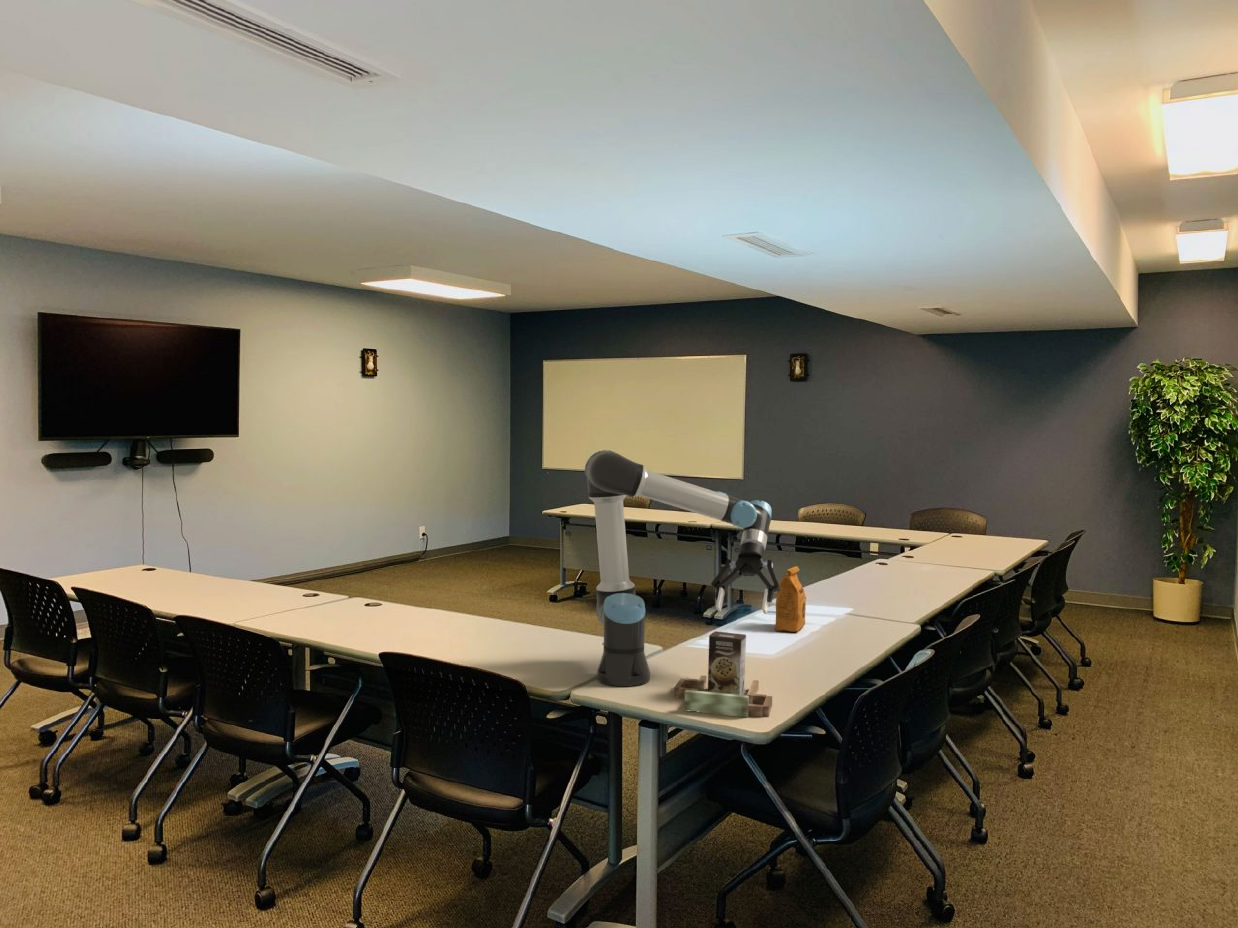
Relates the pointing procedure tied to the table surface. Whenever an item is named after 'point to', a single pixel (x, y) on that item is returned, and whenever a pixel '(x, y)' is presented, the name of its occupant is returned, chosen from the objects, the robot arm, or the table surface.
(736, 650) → the coffee box
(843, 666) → the table surface
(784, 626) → the coffee package
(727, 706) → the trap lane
